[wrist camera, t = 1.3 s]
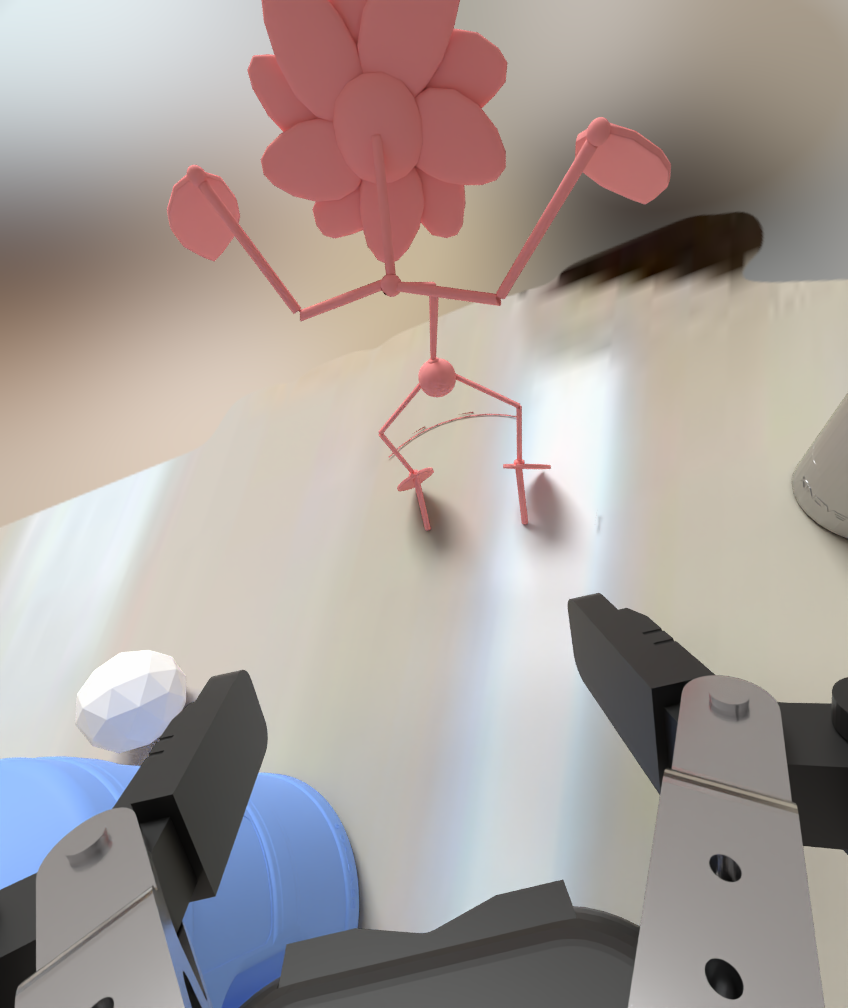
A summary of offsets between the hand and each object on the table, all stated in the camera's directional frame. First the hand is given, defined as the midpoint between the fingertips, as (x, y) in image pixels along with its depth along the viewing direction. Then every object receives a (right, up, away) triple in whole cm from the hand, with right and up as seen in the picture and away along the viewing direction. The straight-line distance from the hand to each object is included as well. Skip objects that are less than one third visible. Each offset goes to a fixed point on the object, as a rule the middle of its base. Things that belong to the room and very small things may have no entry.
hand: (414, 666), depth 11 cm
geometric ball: (-23, -14, +30) cm, 40 cm away
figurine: (+6, +7, +35) cm, 36 cm away
